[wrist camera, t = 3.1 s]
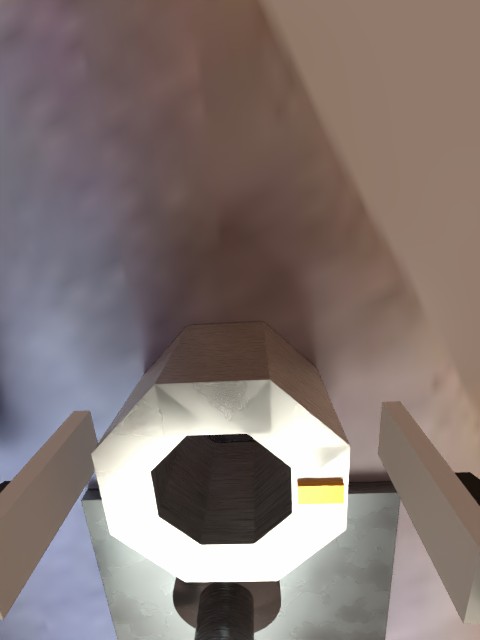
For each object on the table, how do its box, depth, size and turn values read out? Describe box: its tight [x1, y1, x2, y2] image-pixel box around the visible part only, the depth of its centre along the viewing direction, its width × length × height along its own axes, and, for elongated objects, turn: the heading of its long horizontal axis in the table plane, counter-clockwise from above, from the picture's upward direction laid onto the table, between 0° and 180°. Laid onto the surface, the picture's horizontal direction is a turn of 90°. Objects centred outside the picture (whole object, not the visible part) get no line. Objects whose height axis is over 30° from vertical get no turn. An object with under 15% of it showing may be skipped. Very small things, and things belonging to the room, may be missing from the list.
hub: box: [91, 322, 350, 582], centre depth 15 cm, size 9×9×6 cm
